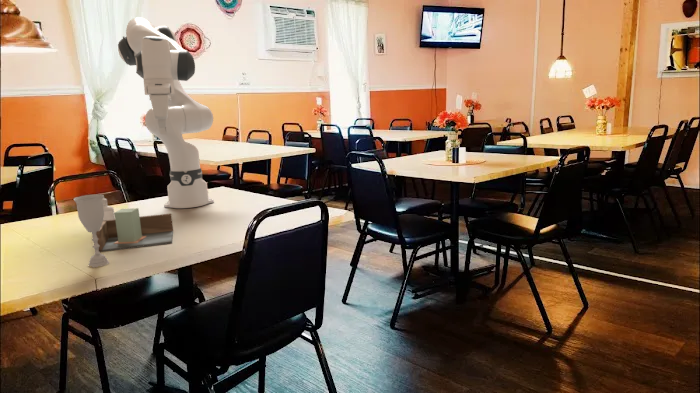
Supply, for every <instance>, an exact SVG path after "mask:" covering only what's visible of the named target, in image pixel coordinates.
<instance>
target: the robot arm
mask: <svg viewBox="0 0 700 393" xmlns="http://www.w3.org/2000/svg"><path fill="white" fill-rule="evenodd" d="M125 33H126V34H125V36H122V39H120V40H119V42H118V44H117V47H118V48H117V50H118V55H119V57H120V58H121V60H122V61H123V62H124V63H125V64H126V65H128V66H132V67H133V66H135V67H136V74H137V75H138V76H139V77H140V78H142V79H143V88H144V90H143V91H144V95H146V96H149V101H151V107H152V108H149V109H148V111H147V112H146V114H145V117H144V123H145V126H146V129H147V130H148V131H149V132H150V133H151V134H153V135H154V136H155V137H157V138H158V139H159V140H160V141H161V142H162V144H163V145H164V147H165V148H166V151H167V156H168V159H169V166H170V170H169V177H170V183H169V184H168V185H167V187H166V188H167V189H166V190H167V198H168V199H167V200H168V201H166V202H165V203H164V204H163V207H164V208H171V209H172V208H174V209H189V208H197V207H201V206H205V205H208V204H211V203H214V202H215V201H214V199H213V198H212V197H210V196H209V190H208V183H207V182H206V181H205V180H204V179H203V171H202V168H201V163H200V154H199V153H200V152H199V149H198V148H197V147H196V146H195V145H194V144H192V143H190V142H186V141H185V139H184V137H183V134H184V135H186V134H195V133H200V132H205V131H207V130H210V129H211V127H212V126H213V124H214V116H213V115H214V114H213V112H212V110H211V109H210V108H209V107H208V106H207V105H205V104H202V103H200V102H198V101H196V100H195V99H194V98H192V97H191V96H190V95H189V94H188V93H187V92H186V91H185V89H184V88H183V86H182V84H181V82H180V81H182V82H188V81H189V80H190V79H191V78H192V77H193V76H194V75H195V72H196V63H195V59H194V57H193V55H192V54H191V53H190V52H189V51H188V50H187V49H184V48H183V47H182V46H181V45H179V44H178V42H177V38H176V34H175V33H174V32H173V31H172V30H171V28H169V27H168V26H167V25H158V26H157V27H156V26H155V25H154V24H153V23H152V22H151V21H149V20H148V19H147V18H145V17H141V16H140V17H139V16H137V17H133V18H131V20H129V21H128V23H127V25H126V30H125Z"/></svg>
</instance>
